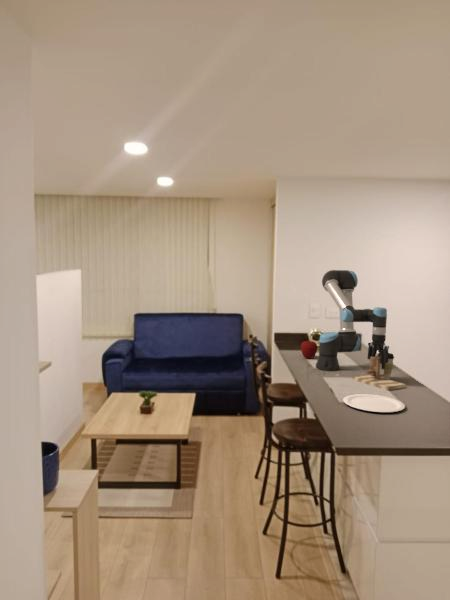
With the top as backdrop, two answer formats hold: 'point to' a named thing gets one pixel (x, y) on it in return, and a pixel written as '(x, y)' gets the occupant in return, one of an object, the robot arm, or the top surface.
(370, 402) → the plate
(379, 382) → the board
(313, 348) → the apple
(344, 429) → the top surface
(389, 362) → the coffee cup
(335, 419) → the top surface
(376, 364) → the brown box
